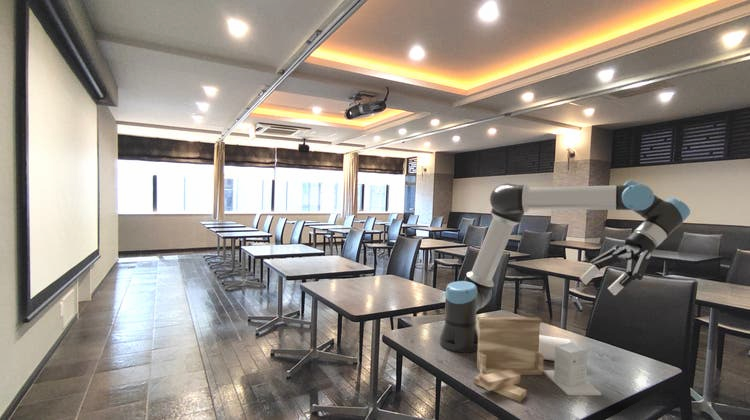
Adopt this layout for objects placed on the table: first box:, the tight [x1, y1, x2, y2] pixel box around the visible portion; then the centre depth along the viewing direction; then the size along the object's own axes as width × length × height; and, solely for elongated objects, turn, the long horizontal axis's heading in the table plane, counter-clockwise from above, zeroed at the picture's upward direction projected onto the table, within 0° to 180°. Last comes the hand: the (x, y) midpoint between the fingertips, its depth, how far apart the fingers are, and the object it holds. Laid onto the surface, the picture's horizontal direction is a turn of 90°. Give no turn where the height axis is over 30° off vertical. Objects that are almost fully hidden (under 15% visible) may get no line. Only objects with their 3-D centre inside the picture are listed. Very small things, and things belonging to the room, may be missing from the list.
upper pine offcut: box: [479, 369, 521, 392], centre depth 107 cm, size 12×4×2 cm, turn 114°
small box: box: [553, 341, 589, 387], centre depth 112 cm, size 8×6×10 cm
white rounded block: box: [539, 334, 572, 362], centre depth 130 cm, size 12×10×8 cm
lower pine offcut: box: [473, 372, 527, 403], centre depth 107 cm, size 14×4×2 cm, turn 46°
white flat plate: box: [543, 369, 602, 396], centre depth 112 cm, size 14×10×1 cm
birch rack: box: [476, 316, 545, 376], centre depth 118 cm, size 5×21×17 cm, turn 93°
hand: (596, 286), depth 113 cm, fingers open, 13 cm apart
